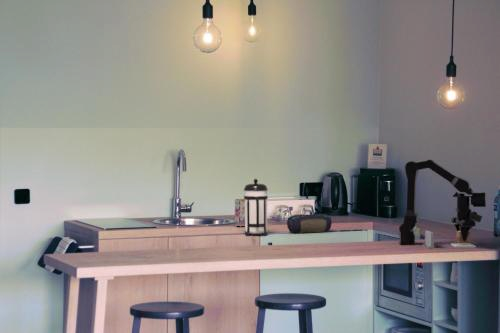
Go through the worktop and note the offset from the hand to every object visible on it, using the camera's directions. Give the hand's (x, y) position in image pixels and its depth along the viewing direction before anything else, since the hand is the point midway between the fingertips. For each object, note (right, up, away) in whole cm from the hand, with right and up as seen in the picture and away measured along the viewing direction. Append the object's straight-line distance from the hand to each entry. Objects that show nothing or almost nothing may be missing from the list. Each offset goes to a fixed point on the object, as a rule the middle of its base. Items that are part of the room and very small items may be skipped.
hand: (463, 239), depth 379 cm
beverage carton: (-17, -3, +41) cm, 45 cm away
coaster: (0, -3, 0) cm, 3 cm away
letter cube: (0, -1, 0) cm, 1 cm away
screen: (-16, -3, 0) cm, 16 cm away
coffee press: (-96, -3, +52) cm, 109 cm away
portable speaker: (-67, -2, +64) cm, 93 cm away
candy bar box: (-103, -1, +99) cm, 143 cm away
